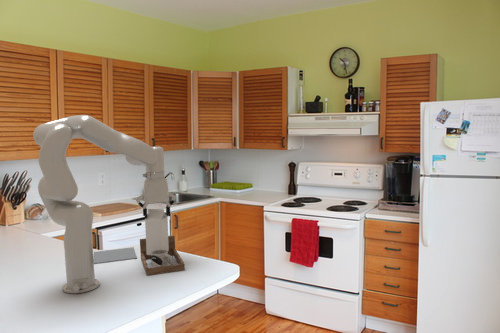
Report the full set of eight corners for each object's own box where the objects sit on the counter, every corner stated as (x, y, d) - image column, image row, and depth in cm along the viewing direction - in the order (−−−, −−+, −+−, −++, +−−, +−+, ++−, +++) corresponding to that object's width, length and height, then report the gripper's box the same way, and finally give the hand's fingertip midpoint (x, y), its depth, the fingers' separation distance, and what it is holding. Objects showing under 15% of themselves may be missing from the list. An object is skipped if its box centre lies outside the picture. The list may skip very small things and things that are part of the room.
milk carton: (162, 255, 182) (160, 210, 180) (146, 255, 183) (144, 210, 182) (168, 251, 189) (167, 207, 187) (153, 250, 190) (151, 207, 189)
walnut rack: (184, 270, 174) (183, 248, 173) (146, 275, 169) (145, 253, 168) (175, 254, 195) (174, 235, 194) (140, 259, 190) (139, 239, 189)
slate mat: (136, 258, 191) (136, 257, 191) (93, 264, 186) (93, 263, 186) (133, 247, 208) (133, 247, 208) (93, 252, 203) (93, 251, 202)
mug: (148, 269, 177) (147, 253, 176) (159, 264, 183) (158, 248, 182) (168, 272, 172) (167, 256, 172) (178, 267, 178) (177, 251, 177)
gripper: (134, 178, 177) (136, 220, 178) (177, 175, 183) (178, 216, 184) (133, 176, 184) (135, 216, 185) (174, 174, 190) (175, 213, 191)
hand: (156, 216), depth 185 cm, fingers closed on milk carton, 8 cm apart
